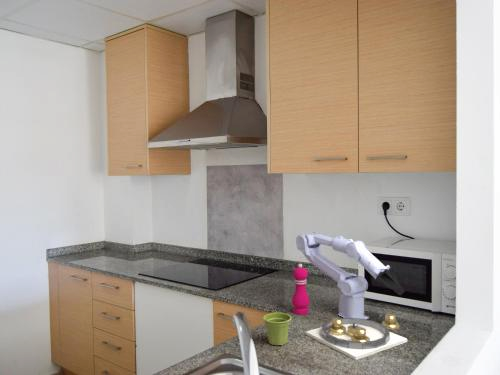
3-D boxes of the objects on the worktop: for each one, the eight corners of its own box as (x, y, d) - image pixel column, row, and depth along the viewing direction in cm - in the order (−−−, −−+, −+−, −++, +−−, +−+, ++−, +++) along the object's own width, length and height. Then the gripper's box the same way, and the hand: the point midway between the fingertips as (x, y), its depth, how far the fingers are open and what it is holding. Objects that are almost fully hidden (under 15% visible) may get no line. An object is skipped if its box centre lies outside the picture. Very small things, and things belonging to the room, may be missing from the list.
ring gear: (308, 331, 147) (308, 326, 147) (354, 318, 159) (354, 313, 158) (355, 355, 128) (355, 348, 128) (403, 338, 139) (403, 332, 139)
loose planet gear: (378, 326, 154) (378, 314, 153) (389, 322, 157) (389, 311, 157) (391, 331, 148) (391, 319, 148) (402, 328, 152) (402, 315, 151)
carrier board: (305, 334, 147) (305, 331, 147) (354, 320, 160) (354, 317, 160) (355, 360, 127) (355, 356, 127) (407, 341, 139) (407, 338, 139)
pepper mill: (290, 314, 168) (289, 265, 167) (294, 308, 175) (293, 261, 174) (307, 316, 166) (307, 266, 165) (311, 310, 172) (310, 262, 171)
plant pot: (271, 350, 135) (271, 324, 134) (259, 339, 143) (259, 315, 143) (296, 345, 138) (296, 319, 138) (283, 335, 147) (283, 310, 147)
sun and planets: (325, 331, 147) (324, 318, 147) (343, 326, 152) (342, 313, 151) (360, 348, 133) (360, 334, 133) (379, 341, 137) (379, 328, 137)
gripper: (374, 252, 149) (402, 278, 140) (385, 261, 160) (412, 287, 151) (360, 266, 150) (388, 293, 141) (372, 275, 161) (398, 300, 152)
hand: (399, 291), depth 146 cm, fingers open, 7 cm apart
